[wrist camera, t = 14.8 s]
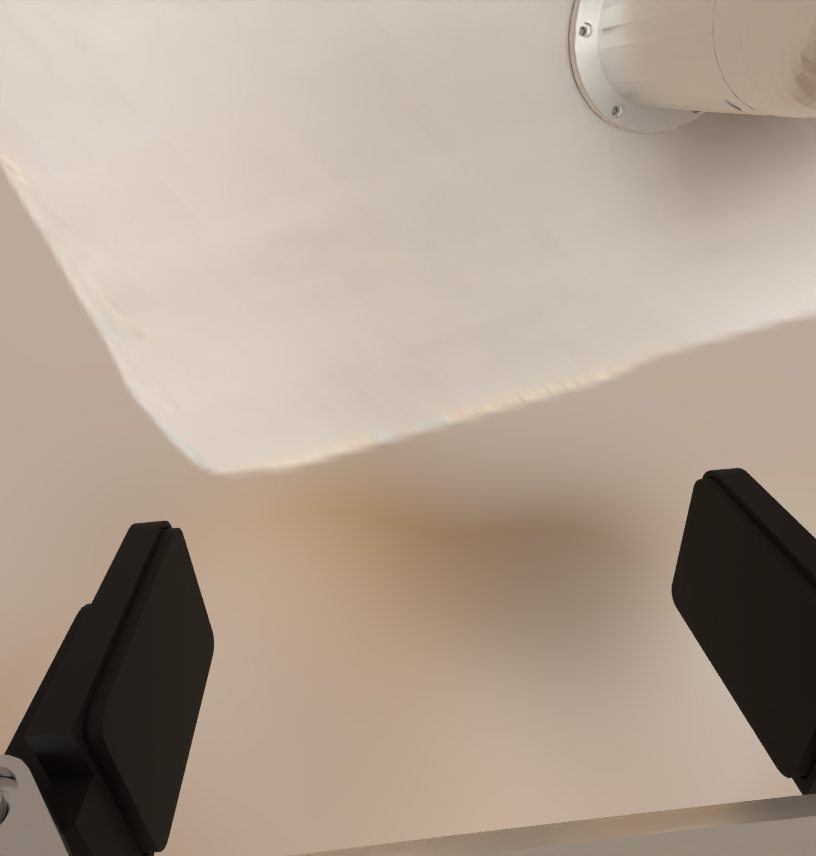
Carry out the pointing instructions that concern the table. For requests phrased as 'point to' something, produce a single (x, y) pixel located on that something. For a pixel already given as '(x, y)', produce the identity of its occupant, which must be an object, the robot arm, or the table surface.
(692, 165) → the table surface
